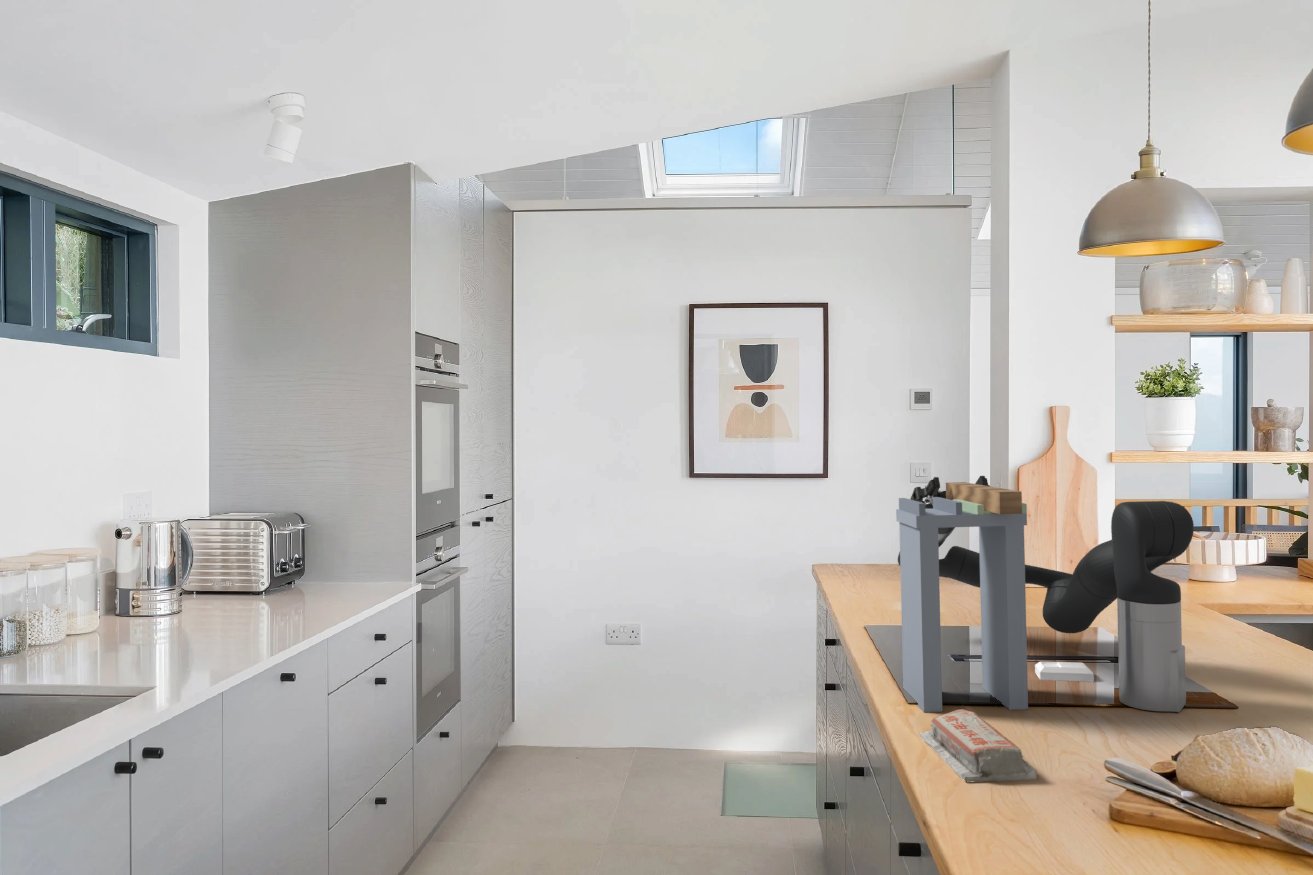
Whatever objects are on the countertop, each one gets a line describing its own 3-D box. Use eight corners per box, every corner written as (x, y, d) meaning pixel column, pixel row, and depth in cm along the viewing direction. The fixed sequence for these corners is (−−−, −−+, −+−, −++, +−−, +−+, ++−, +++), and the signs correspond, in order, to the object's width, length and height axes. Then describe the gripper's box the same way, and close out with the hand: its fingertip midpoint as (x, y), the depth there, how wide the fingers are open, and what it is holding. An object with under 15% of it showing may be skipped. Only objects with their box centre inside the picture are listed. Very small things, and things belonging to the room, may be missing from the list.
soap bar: (1094, 683, 161) (1093, 669, 161) (1040, 681, 163) (1040, 667, 163) (1087, 676, 166) (1086, 661, 166) (1035, 674, 168) (1034, 660, 168)
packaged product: (1038, 746, 118) (963, 749, 117) (1039, 783, 118) (964, 786, 117) (982, 704, 136) (917, 707, 135) (983, 736, 136) (918, 739, 135)
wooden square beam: (946, 501, 169) (945, 482, 169) (964, 500, 169) (964, 482, 169) (1000, 514, 143) (999, 492, 143) (1022, 513, 143) (1021, 491, 143)
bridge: (900, 690, 158) (895, 498, 158) (1002, 688, 159) (998, 495, 158) (920, 712, 146) (916, 503, 146) (1031, 709, 147) (1026, 500, 146)
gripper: (899, 501, 181) (918, 463, 167) (969, 499, 181) (995, 461, 167) (905, 535, 178) (925, 500, 164) (977, 534, 178) (1004, 498, 164)
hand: (960, 480), depth 165 cm, fingers open, 8 cm apart
